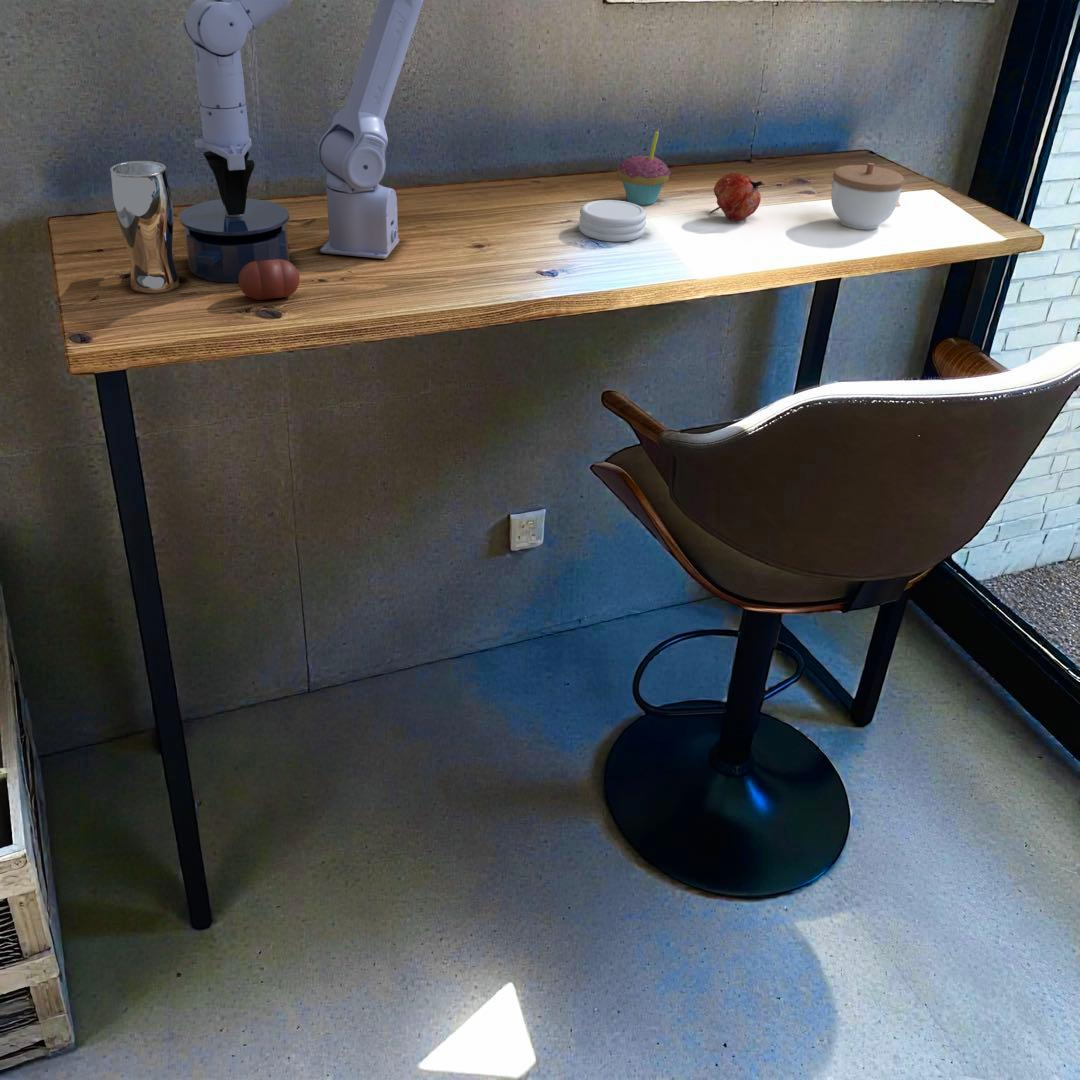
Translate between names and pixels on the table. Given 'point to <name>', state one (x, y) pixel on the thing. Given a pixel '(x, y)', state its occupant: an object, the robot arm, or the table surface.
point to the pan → (232, 252)
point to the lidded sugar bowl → (865, 195)
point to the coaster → (612, 220)
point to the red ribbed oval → (268, 279)
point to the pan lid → (234, 218)
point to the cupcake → (643, 176)
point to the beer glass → (146, 223)
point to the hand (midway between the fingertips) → (234, 210)
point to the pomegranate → (737, 196)
